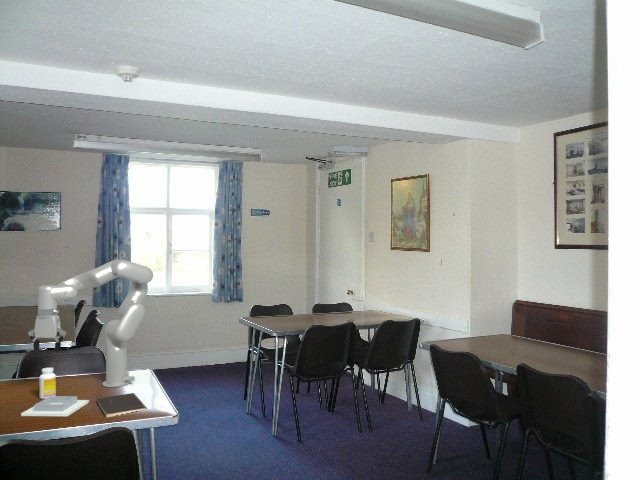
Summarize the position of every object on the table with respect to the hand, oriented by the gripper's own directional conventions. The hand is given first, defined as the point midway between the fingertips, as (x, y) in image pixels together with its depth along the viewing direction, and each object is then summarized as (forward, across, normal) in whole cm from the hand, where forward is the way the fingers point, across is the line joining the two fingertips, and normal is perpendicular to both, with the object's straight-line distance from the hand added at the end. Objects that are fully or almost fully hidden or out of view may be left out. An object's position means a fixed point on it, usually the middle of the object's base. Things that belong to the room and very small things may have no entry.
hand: (47, 350), depth 232 cm
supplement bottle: (+21, 0, 0) cm, 21 cm away
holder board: (+21, -13, +16) cm, 29 cm away
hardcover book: (+22, -39, +12) cm, 46 cm away
